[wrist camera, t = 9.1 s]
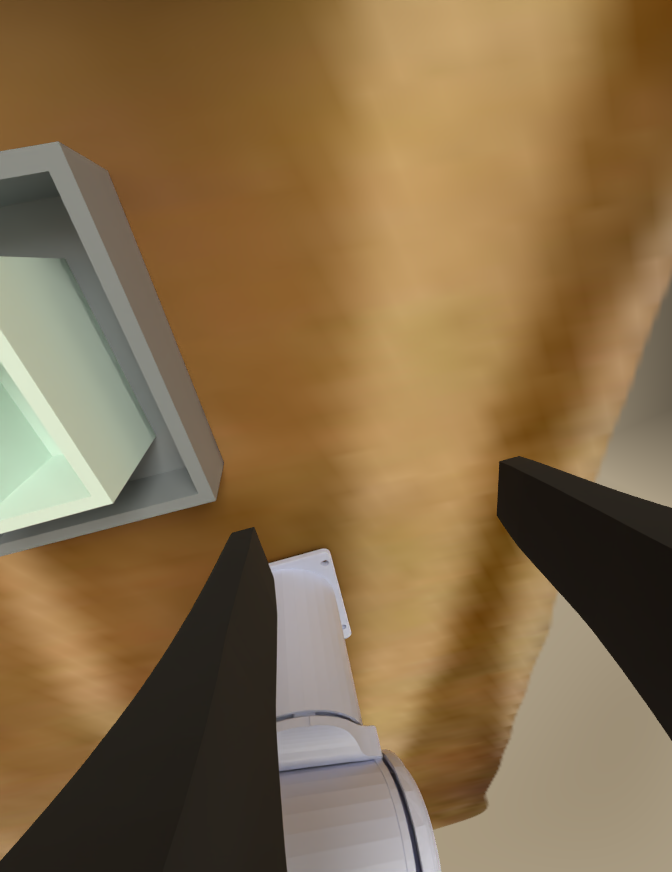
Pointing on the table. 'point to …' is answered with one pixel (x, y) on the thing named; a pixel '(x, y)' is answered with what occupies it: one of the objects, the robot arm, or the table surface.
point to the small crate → (60, 400)
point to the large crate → (110, 332)
